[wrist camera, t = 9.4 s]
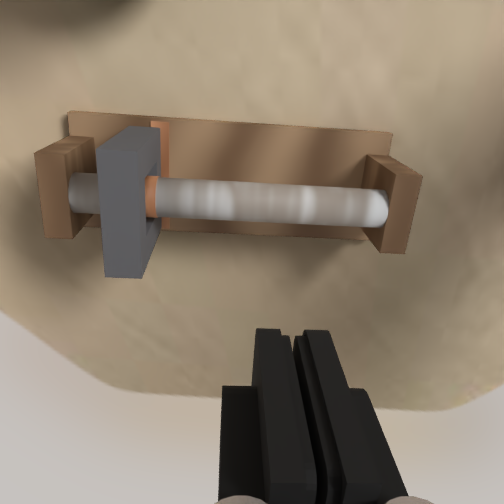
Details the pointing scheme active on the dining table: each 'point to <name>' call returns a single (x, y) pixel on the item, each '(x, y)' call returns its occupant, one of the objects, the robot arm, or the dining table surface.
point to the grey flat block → (127, 200)
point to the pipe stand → (240, 180)
